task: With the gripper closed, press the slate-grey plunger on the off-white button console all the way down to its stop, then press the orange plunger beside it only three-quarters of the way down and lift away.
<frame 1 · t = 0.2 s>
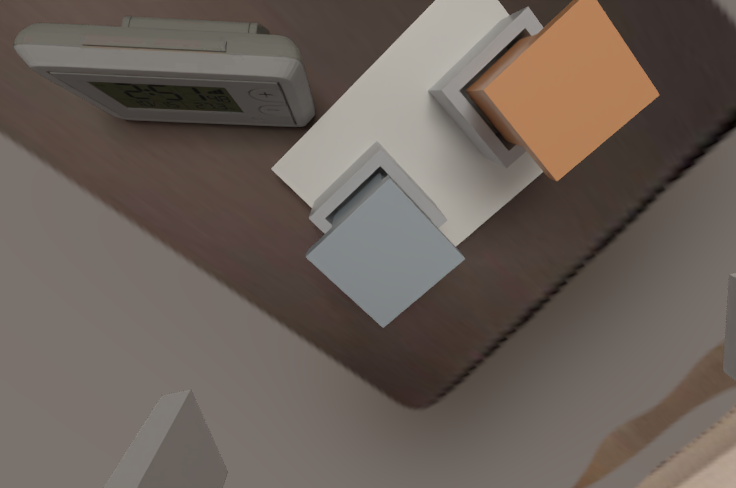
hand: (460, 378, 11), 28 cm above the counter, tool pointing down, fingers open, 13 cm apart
button console: (425, 144, 36), on the counter
grey plunger: (381, 234, 27), point 11 cm above the counter, slide at 0.0 cm
orange plunger: (537, 92, 24), point 11 cm above the counter, slide at 0.0 cm
digital clock: (216, 85, 34), on the counter
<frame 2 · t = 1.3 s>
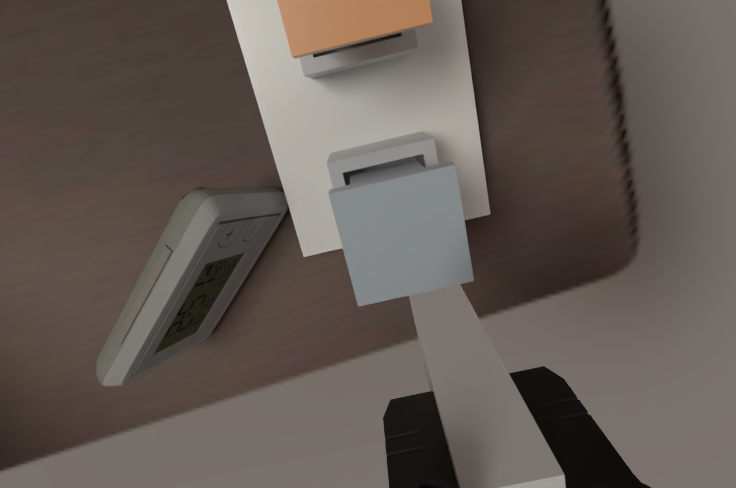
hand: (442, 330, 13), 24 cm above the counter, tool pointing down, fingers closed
button console: (366, 104, 33), on the counter
grey plunger: (396, 216, 25), point 11 cm above the counter, slide at 0.0 cm
digital clock: (221, 253, 37), on the counter
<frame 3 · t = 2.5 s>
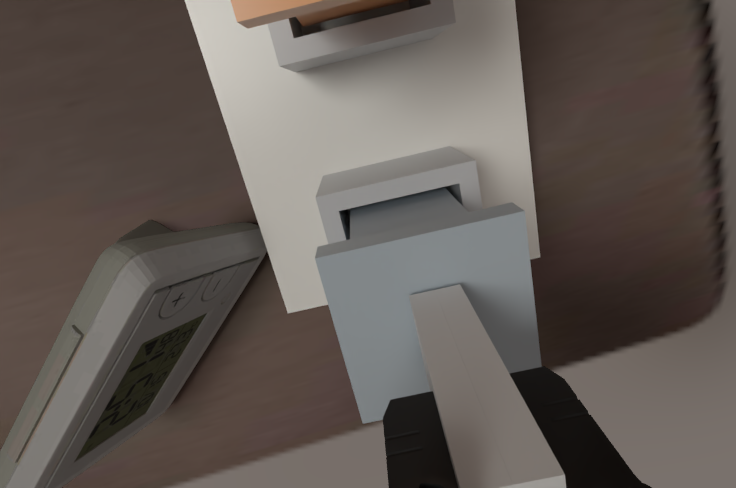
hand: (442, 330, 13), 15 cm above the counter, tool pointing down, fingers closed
button console: (372, 108, 24), on the counter
grey plunger: (417, 273, 17), point 10 cm above the counter, slide at 1.0 cm, touching gripper
digital clock: (182, 303, 28), on the counter
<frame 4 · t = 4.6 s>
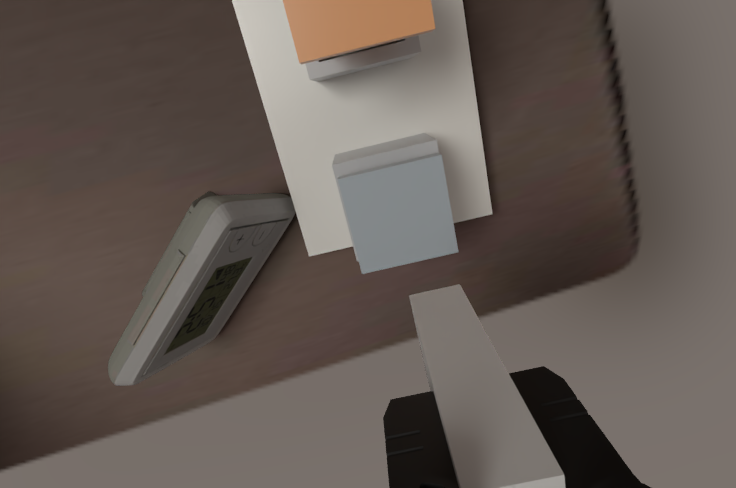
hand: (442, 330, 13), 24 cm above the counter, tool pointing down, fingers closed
button console: (370, 106, 34), on the counter
grey plunger: (394, 200, 29), point 7 cm above the counter, slide at 4.0 cm
digital clock: (229, 256, 38), on the counter
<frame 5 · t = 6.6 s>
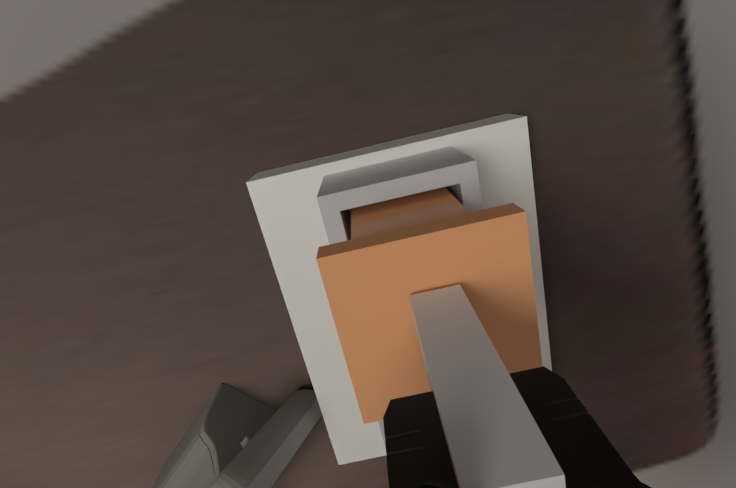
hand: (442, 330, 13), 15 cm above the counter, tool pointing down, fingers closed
button console: (412, 293, 29), on the counter
orange plunger: (418, 274, 17), point 10 cm above the counter, slide at 1.0 cm, touching gripper
digital clock: (243, 445, 33), on the counter
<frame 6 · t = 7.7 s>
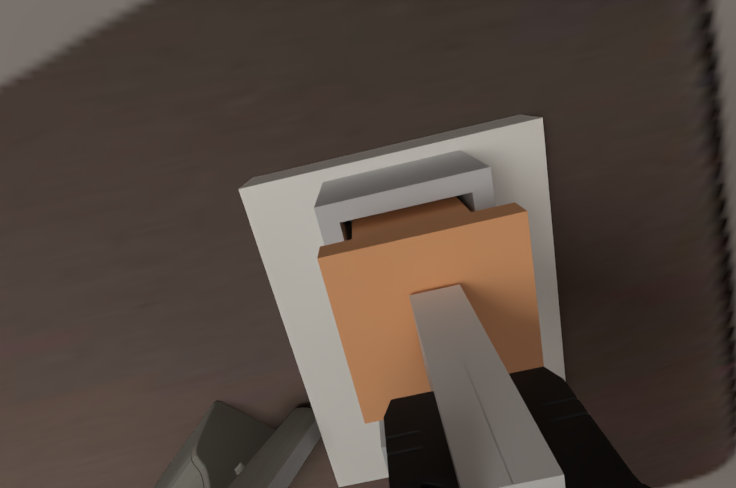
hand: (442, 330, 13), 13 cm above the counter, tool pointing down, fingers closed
button console: (417, 305, 27), on the counter
orange plunger: (419, 274, 17), point 9 cm above the counter, slide at 2.7 cm, touching gripper
digital clock: (238, 464, 31), on the counter
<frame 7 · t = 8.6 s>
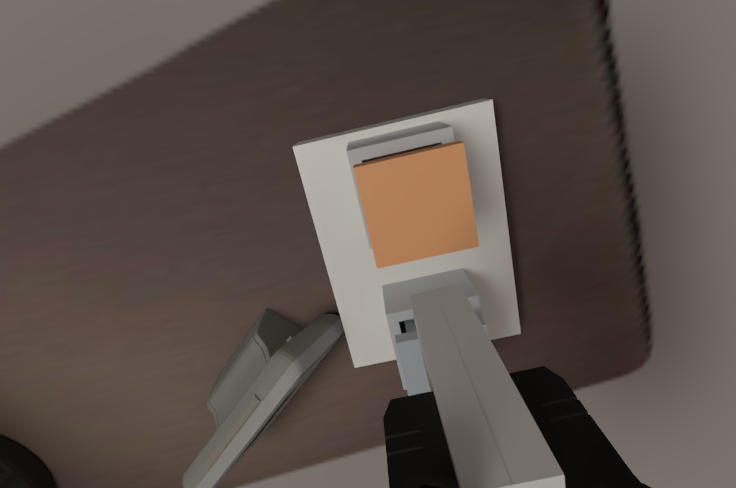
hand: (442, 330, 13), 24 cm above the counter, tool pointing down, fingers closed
button console: (411, 236, 38), on the counter
grey plunger: (437, 339, 33), point 7 cm above the counter, slide at 4.0 cm
orange plunger: (410, 192, 28), point 9 cm above the counter, slide at 2.7 cm
digital clock: (279, 360, 42), on the counter
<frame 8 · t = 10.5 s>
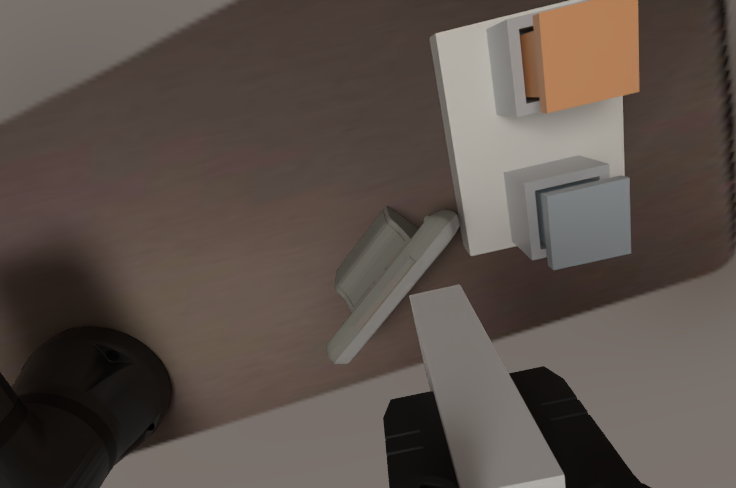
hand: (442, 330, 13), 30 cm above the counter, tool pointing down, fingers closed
button console: (525, 132, 41), on the counter
grey plunger: (565, 211, 36), point 7 cm above the counter, slide at 4.0 cm
orange plunger: (561, 58, 31), point 9 cm above the counter, slide at 2.7 cm
digital clock: (392, 260, 45), on the counter
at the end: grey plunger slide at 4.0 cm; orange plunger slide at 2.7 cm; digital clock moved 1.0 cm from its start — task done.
